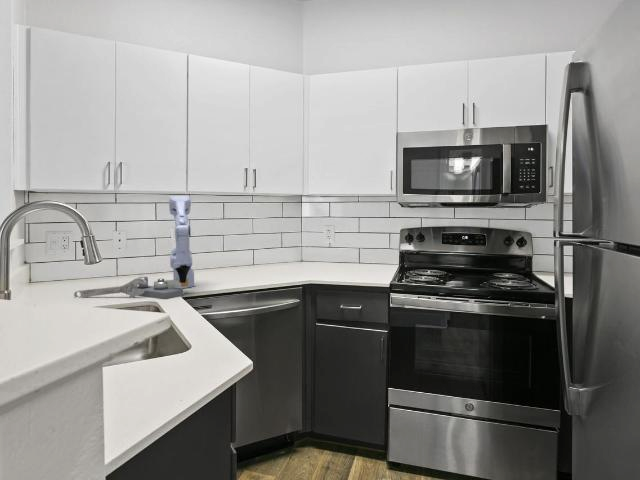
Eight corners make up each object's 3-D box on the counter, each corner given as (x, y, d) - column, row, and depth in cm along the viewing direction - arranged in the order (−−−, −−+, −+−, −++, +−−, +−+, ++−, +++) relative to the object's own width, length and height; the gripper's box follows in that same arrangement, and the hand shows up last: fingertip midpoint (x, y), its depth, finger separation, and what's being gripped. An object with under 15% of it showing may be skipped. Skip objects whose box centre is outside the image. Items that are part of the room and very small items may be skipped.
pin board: (144, 290, 213) (144, 285, 212) (183, 295, 201) (183, 289, 201) (125, 293, 204) (125, 288, 204) (165, 299, 192) (165, 293, 192)
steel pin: (143, 292, 208) (142, 276, 208) (150, 292, 207) (149, 277, 206) (136, 293, 205) (136, 277, 204) (143, 294, 203) (143, 278, 203)
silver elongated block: (152, 287, 204) (152, 278, 204) (185, 284, 212) (185, 276, 211) (155, 289, 199) (155, 280, 199) (189, 286, 206) (189, 278, 206)
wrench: (77, 303, 197) (148, 295, 197) (75, 304, 195) (147, 296, 195) (74, 285, 196) (146, 276, 197) (72, 285, 194) (144, 277, 195)
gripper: (182, 250, 213) (182, 280, 214) (166, 252, 199) (166, 284, 199) (196, 251, 212) (196, 280, 212) (181, 253, 198) (181, 285, 198)
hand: (183, 282), depth 206 cm, fingers closed, pressing on silver elongated block
